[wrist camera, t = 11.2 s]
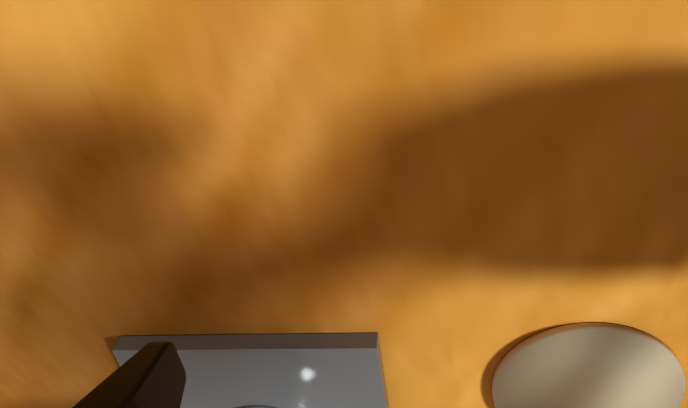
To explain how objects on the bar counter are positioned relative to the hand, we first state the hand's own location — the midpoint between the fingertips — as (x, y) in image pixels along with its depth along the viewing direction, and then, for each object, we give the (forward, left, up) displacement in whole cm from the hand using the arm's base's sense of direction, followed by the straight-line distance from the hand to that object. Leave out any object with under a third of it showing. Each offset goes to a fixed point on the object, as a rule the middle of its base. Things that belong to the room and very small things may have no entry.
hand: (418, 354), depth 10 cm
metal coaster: (-7, +17, -13) cm, 23 cm away
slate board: (+10, +20, -13) cm, 26 cm away
